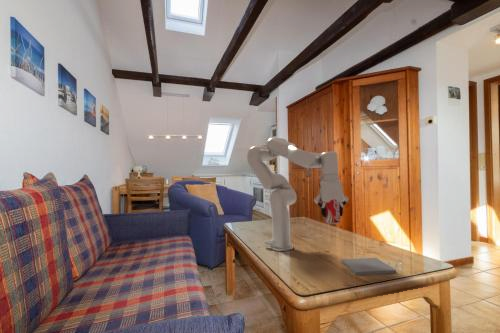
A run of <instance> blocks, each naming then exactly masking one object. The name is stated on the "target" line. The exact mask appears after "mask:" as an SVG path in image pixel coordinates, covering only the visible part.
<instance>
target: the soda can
mask: <svg viewBox="0 0 500 333" xmlns="http://www.w3.org/2000/svg"><path fill="white" fill-rule="evenodd" d="M325 209H326V217H323V218H324V222H325V223H327V225H328V224H329V225H337V224H339V223H340V222H341V216H340V205H339V202H338V201H337V200H335V199H333V200H331V201H330V202H329V203H326V205H325Z"/></svg>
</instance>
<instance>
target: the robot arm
mask: <svg viewBox="0 0 500 333" xmlns="http://www.w3.org/2000/svg"><path fill="white" fill-rule="evenodd" d="M279 156H280V157H283V158H285V159H287V160H288V161H290V162H291V163H293V164H295V165H297V166H300V167H303V168H306V169H319V168H320V169H321V175H319V176H318V179H319V180H321V181H320V184H319V194H317V196H316V197H314V199H313V201H314V202H315V204H316V205H317V206H318V207H319V208H320V213H321V215H322V217H323V218H324V217H326V209H325V205H326V203H329V202H330V201H331V200H333V199H335V200H337V201H338V202H339V205H340V217H343V214H344V207H345V205H346V204H347V203H348V201H349V197H348V196H346V195H345V194H344V189H343V185H342V181H341V180H340V179H339V177H340V176H339V159H338V153H337V152H336V151H324V152H321V153H318V152H310V151H306V150H303V149H300V148H298V147H297V145H296V144H295V143H294V142H293V143H292V142H291V141H288V140H287V139H285V138H283V137H282V138H281V137H273V136H272V137H270V138H268V140H266V143H265V146H262V145H254V146H252V147H250V148H249V149H248V151H247V154H246V159H247V163H248V166H249V168H250V169H251V170H252V172H253V173H254V174H255V176H256V178H257V179H258V181H259V182H260V185H262V187H263V189H265V191H268V192H271V193H270V194H269V204H270V205H269V206H270V210H271V228H272V230H271V231H272V236H271V239H269V240H266V239H265V240H263V244H264V245H267V246H269V248H270V250H273V251H276V252H288V251H291V250H293V249H294V245H293V244H292V243H291V230H290V227H291V226H290V225H291V223H290V213H289V209H288V206H291V205H294V204H295V203H296V202H297V199H298V198H297V193H296V191H295V189H294V188H293V187H292V185H291V184H290V183H289V181H288V179H287V178H286V177H285V176H283V174H280V173H273V172H272V170H270V168H269V166H268V165H267V164H266V163H265V162H263V161H266V162H268V161H272V160H273V159H276V158H278V157H279Z"/></svg>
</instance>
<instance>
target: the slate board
mask: <svg viewBox="0 0 500 333" xmlns="http://www.w3.org/2000/svg"><path fill="white" fill-rule="evenodd" d="M341 263H342V264H343V265H345V266H346V267H347V268H348V269H349V271H351V272H352V273H354V274H355V275H356V276H360V275H361V276H364V275H384V274H385V275H386V274H387V275H388V274H397V270H396V269H395V268H393V267H392V266H390V265H388V264H387V263H386V262H384V261H383V260H380V259H379V258H378V257H362V258H344V259H343V258H341Z"/></svg>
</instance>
